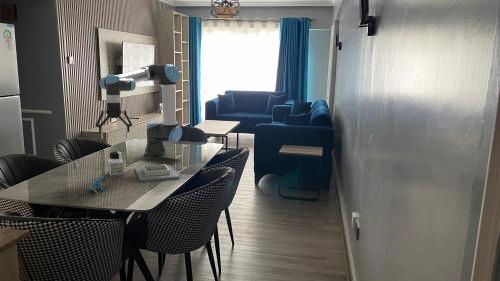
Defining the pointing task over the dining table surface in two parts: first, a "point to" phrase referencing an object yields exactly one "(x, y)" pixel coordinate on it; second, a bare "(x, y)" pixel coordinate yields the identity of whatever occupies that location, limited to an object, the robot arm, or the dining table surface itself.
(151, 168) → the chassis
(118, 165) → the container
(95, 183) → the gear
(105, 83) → the robot arm
